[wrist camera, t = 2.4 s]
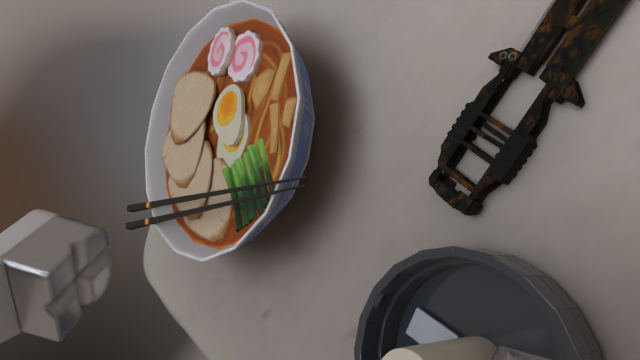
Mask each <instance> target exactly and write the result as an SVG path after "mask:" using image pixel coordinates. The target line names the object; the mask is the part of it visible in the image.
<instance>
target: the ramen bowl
mask: <svg viewBox="0 0 640 360" xmlns="http://www.w3.org/2000/svg"><path fill="white" fill-rule="evenodd" d="M314 123H315V115H314V108H313V102H312V95H311V88H310V82H309V77H308V73H307V69H306V67H305V64H304V62H303V60H302V57H301V56H300V54H299V52H298V51H297V49H296V47H295V45H294V44H293V42H292V40H291V39H290V37H289V35H288V34H287V32H286V30H285V29H284V27H283V25H282V24H281V22H280V21H279V19H278V18H277V16H276V15H275V14H274V12H273V11H272V10H271V9H269V8H266V7H264V6H261V5H259V4H256V3H253V2H251V1H248V0H238V1H234V2H231V3H228V4H224V5H221V6H218V7H215V8H214V9H212V10H211V11H210V12H209V13H208V14H207V15H206V16H205V17H204V18H203V19H202V20H201V21H199V23H197V24H196V25H195V26H194V27H193V28H192V29H191V30H190V31H189V32H188V33H187V35H186V36H185V38H184V39H183V41H182V43H181V44H180V46H179V48H178V49H177V51H176V52H175V54H174V56H173V57H172V59H171V60H170V62H169V64H168V65H167V67H166V70H165V73H164V76H163V79H162V81H161V84H160V87H159V90H158V92H157V95H156V98H155V101H154V104H153V107H152V111H151V117H150V123H149V129H148V135H147V141H146V146H145V170H146V171H145V172H146V193H147V197H148V200H149V202H145V203H139V204H133V205H128V206H127V211H129V212H135V211H140V210H146V209H151V211H152V215H153V217H152V218H148V219H143V220H138V221H134V222H129V223H126V229H130V230H132V229H136V228H140V227H144V226H148V225H151V224H155V226H156V228H157V230H158V231H159V232H160V234H161V235H162V236H163V238H164V239H165V240H166V242H167V243H168V244H169V245H170V247H171V248H172V249H173V251H174V252H175V253H177V254H180V255H183V256H186V257H189V258H191V259H194V260H197V261H200V262H204V261H207V260H209V259H212V258H214V257H217V256H219V255H222V254H224V253H227V252H230V251H232V250H235V249H236V248H238V247H240V246H242V245H244V244H246V243H248V242H249V241H251V240H252V239H253V238H254V237H255V236H257V235H258V234H259V233H260V232H261V231H262V230H263V229H264V228H265V227H266V226H267V225H268V224H269V223H270V222H271V221H272V220H273V218H274V217H275V216H276V215H277V214H278V213H279V212H280V211H281V210H282V209H283V208H284V207H285V205H286V204H287V203H288V202H289V201H290V200H291V198H292V197H293V195H294V193H295V190H296V189H297V188H301V187H305V186H307V184H303V185H299V186H298V183H299V181H300V179H305V178H307V176H302V174H303V172H304V170H305V168H306V165H307V163H308V161H309V155H310V149H311V142H312V136H313V130H314Z"/></svg>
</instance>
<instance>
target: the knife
mask: <svg viewBox="0 0 640 360" xmlns="http://www.w3.org/2000/svg"><path fill="white" fill-rule="evenodd" d="M583 1H584V0H553V1H552V3H551V4H550V6H549V7H548V9H547V10H546V12H545V13H544V15H543V16H542V18H541V19H540V21H539V22H538V24H537V25H536V27H535V28H534V30H533V31H532V33H531V34H530V36H529V38H528V39H527V41H526V42H525V44H524V45H523V47H522V48H521V50H520V51H517V50H515V49H513V48H508V49H505V50H501V51H497V52H494V53H491V54H490V56H489V57H488V58H489V59H490V60H492V61H494V62H495V63H496V64H498V65H500V66H501V68H500V69H499V71H500V72H499V74H498V75H497V76H496V77H495V78H493V79H492V80H491V81H490V82H489V83H487V84H486V85H485V86H484V87H483V88H482V89H481V91H480V92H479V94H478V96H477V97H476V99H475V100H474V101H473V102H471V103H467V104H466V105H465V107H466V108H465V109H464V110H462V112H461V116H460V117H458V118H457V119H456V121H457V122H456V123H455V124H453V126H452V130H451V131H449V132H448V133H447V134H448V136H447V137H446V139H445V140H444V142H443V144H442V145H441V153H440V156H439V159H438V167H437V169H436V170H434V171H433V172H432V174H431V175H430V177H429V185H430V186H431V187H433V188H434V190H435V191H436V193H437V194H438V195H439V196H440V197H441V198H442V199H443V200H445V201H446V202H447V203H448V204H449V205H450V206H452V207H453V208H455V209H457V210H459V211H461V212H462V213H463V214H465V215H475V214H477V213H478V211H479V210H480V209H481V207H482V206H483V205H482V204H481V203H482V202H483V200H484V199H485V197H486V196H487V195H488V193H490V192H491V191H493V190H494V189H496V188H497V187H499V186H500V185H502V184H507V185H508V184H509V183H510V181H511V180H512V179H513V177H514V178H515V177H516V175H517V174H516V173H517V172H518V170H519V171H520V170H521V168H522V167H521V166H522V164H523V163H524V164H525V163H526V161H527V160H526V159H527V157H528V156H531V154H532V150H533V149H536V147H537V146H538V145H536V138H537V136H538V135H539V133H540V132H541V131H542V129H543V128H544V126H545V125H546V123H547V119H548V114H549V110H550V105H551V104H552V102H553V101H555V102H557V103H559V104H562V102H563V101H564V99H565V100H567V101H569V102H571V103H573V104H575V105H577V106H579V107H580V108H582V107H583V105H584V104H585V102H584V98H583V95H582V92H581V89H580V86H579V83H578V82H577V81H576V80H575V79H573V78H572V76H573V74H574V73H575V71H576V70H577V69H578V67H579V66H580V64H581V63H582V62H583V60H584V59H585V57H586V56H587V54H588V53H589V52H590V50H591V49H592V47H593V46H594V44H595V43H596V42H597V40H598V39H599V37H600V36H601V35H602V33H603V32H604V30H605V29H606V27H607V26H608V25H609V23H610V22H611V20H612V19H613V17H614V16H615V15H616V13H617V12H618V10H619V9H620V8H621V6H622V5H623V3H624V2H625V0H591V1H590V2H589V3H588V5H587V6H586V8H585V9H584V11H583V12H582V14H581V15H580V17H577V16H575V15H574V14H575V13H576V11H577V10H578V9H579V7H580V6H581V4H582V3H583ZM565 28H567V29H569V30H570V31H569V33H568V34H567V36H566V37H565V39H564V40H563V42H562V43H561V45H560V46H559V47H558V49H557V50H556V52H555V53H554V55H553V56H552V58H551V59H550V61H549V62H548V64H547V65H546V68H545V69H544V71H543V72H542V74H541V75H540V76H539V79H541V80H542V81H544V82H545V83H547V84H546V85H545V87H544V88H543V89H542V91H541V92H540V94H539V95H538V97H537V98H536V100H535V101H534V102H533V104H532V105H531V107H530V108H529V110H528V111H527V113H526V114H525V116H524V117H523V118H522V120H521V121H520V123H519V124H518V126H517V127H516V129H515V130H514V131H513V130H511V129H510V128H508V127H506V126H505V125H503V124H501V123H500V122H498V121H497V120H495V119H494V118H492V117H491V116H489V115H490V114H491V112H492V111H493V109H494V108H495V106H496V105H497V103H498V102H499V100H500V99H501V97H502V96H503V94H504V93H505V91H506V90H507V88H508V87H509V85H510V84H511V82H512V81H513V79H515V78H516V76H517V75H518V73H519V72H520V70H521V71H524V72H526V73H528V74H530V75H532V76H533V75H534V73H535V72H536V70H537V69H538V67H539V66H540V64H541V63H542V62H543V60H544V59H545V57H546V56H547V54H548V53H549V51H550V50H551V48H552V47H553V45H554V44H555V42H556V41H557V40H558V38H559V37H560V35H561V34H562V32H563V31H564V29H565ZM503 79H504V81H503V82H502V80H503ZM486 120H488V121H489V122H491V123H492V124H494V125H496V126H497V127H499V128H500V129H502V130H503V131H505V132H506V133H508V134H509V135H511V136H510V137H509V139H508V138H507V137H505V136H504V135H502V134H501V133H499V132H498V131H496V130H495V129H494V128H492V127H491V126H489V125H488V124H486V123H485V121H486ZM482 126H483V127H484V128H486V129H487V130H488V131H490V132H491V133H493V134H494V135H495V136H497V137H498V138H500V139H501V140H502V141H504V142H505V144H504V145H503V144H501V143H500V142H498V141H496V140H495V139H493V138H492V137H490V136H488V135H487V134H485V133H483V132H482V131H481V127H482ZM477 134H478V135H480V136H481V137H483V138H484V139H486V140H488V141H489V142H491V143H493V144H494V145H496V146H497V147H499V148H500V152H499V153H497V154H496V155H495V157H496V158H495V159H494V158H493V157H491V156H490V155H488V154H487V153H485V152H484V151H483V150H481V149H480V148H478V147H477V146H475V145H474V144H472V143H471V142H472V141H473V140H475V139H476V135H477ZM467 148H468V149H469V150H471V151H472V152H474V153H475V154H476V155H478V156H479V157H481V158H482V159H484V160H485V161H487V162H488V163H489V164H491V165H490V166H489V168H488V169H487V171H486V172H485V173H484V175H483V176H482V178H481V179H480V181H479V182H478V184H477V185H476V184H475V183H473V182H472V181H471V180H469V179H468V178H467V177H465V176H464V175H463V174H461V173H460V172H459V171H457V170H456V169H455V166H456V165H457V163H458V162H459V160H460V159H461V157H462V156H463V154H464V153H465V151H466V150H467ZM443 171H444V173H442V172H443ZM449 175H450V176H451V177H452V178H454V179H455V180H456V181H458V182H459V183H460V184H462V185H463V186H464V187H465V188H467V189H468V190H469V191H471V194H470V195H469V197H468V196H467V195H465V194H464V193H463V192H461V191H459V192H458V191H456V190H455V189H454V188H453V187H454V186H455V185H456V183H455V182H454V181H453V180H451V179H450V178H449ZM477 196H478V197H477ZM476 197H477V198H476ZM475 199H476V200H475Z"/></svg>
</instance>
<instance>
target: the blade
mask: <svg viewBox="0 0 640 360" xmlns="http://www.w3.org/2000/svg"><path fill="white" fill-rule="evenodd" d="M406 333H407V334H408V335H409V336H410V337H412V338H413V339H414V340H415V341H417V342H418V343H419V344H420V345H414V346H408V347H402V348H396V349H393V350H391V351H389V352H388V353H387V354H386V355H385V356H384V357H383V358H382V360H492V356H493V355H494V353H495V351H496V349H497V347H496V346H495V345H494V344H493V343H492V342H491V341H489V340H488V339H486V338H483V337H480V336H468V337H462V338H459V337H460V336H459V335H457V334H456V333H455V332H453V331H452V330H450V329H449V328H448V327H446V326H445V325H443V324H442V323H441V322H439V321H438V320H436V319H435V318H434V317H432V316H431V315H429V314H428V313H427V312H425V311H424V310H423V309H421V308H420V307H417V308H416V311H415V313H414V315H413V317H412V320H411V322H410V324H409V326H408V328H407V331H406Z"/></svg>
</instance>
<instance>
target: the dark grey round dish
mask: <svg viewBox="0 0 640 360" xmlns="http://www.w3.org/2000/svg"><path fill="white" fill-rule="evenodd" d="M417 307H420V308H421V309H423V310H424V311H425V312H427V313H428V314H429V315H431V316H432V317H434V318H435V319H436V320H438V321H439V322H441V323H442V324H443V325H445V326H446V327H448V328H449V329H450V330H452V331H453V332H455V333H456V334H457V335H459V336H460V337H459V338H462V337H468V336H480V337H483V338H486V339H488V340H489V341H491V342H492V343H493V344H494V345H495V346H496V347H497V348H498V347H499V346H500V345H502V346H506V347H510V348H513V349H517V350H520V351H524V352H527V353H531V354H534V355H538V356H541V357H545V358H548V359H552V360H602V356H601V351H600V350H599V349H600V347H599V345H598V343H597V341H596V339H595V338H594V336H593V334H592V332H591V330H590V328H589V326H588V324H587V322H586V320H585V318H584V316H583V314H582V312H581V310H580V309H579V308H578V306H577V305H576V304H575V303H574V302H573V301H572V300H571V299H570V298H569V297H568V296H567V294H566V293H565V292H564V291H563V290H562V289H561V288H560V287H559V286H558V285H557V284H556V283H555V282H554V281H553V280H552V279H551V278H550V277H548V275H547V274H545V273H543V272H541V271H540V270H538V269H536V268H534V267H533V266H531V265H529V264H528V263H526V262H524V261H522V260H521V259H519V258H517V257H515V256H513V255H508V254H503V253H499V252H494V251H490V250H485V249H480V248H468V247H457V246H451V247H444V248H436V249H428V250H422V251H420V252H418V253H416V254H414V255H412V256H410V257H408V258H406V259H405V260H403V261H401V262H399V263H397V264H395V265H394V266H393V267H392V268H391V269H390V270H389V271H388V272H387V273H386V274H385V275H384V277H383V278H382V279H381V280H380V281H379V282H378V283H377V284H376V285H375V286H374V288H373V290H372V292H371V294H370V296H369V298H368V300H367V303H366V305H365V307H364V309H363V311H362V313H361V316H360V319H359V325H358V331H357V336H356V342H355V348H354V356H355V360H382V358H383V357H384V356H385V355H386V354H387V353H388V352H389V351H391V350H393V349H396V348H402V347H408V346H414V345H420V344H419V343H418V342H417V341H415V340H414V339H413V338H412V337H410V336H409V335H408V334H407V333H406V331H407V328H408V326H409V324H410V322H411V320H412V317H413V315H414V313H415V311H416V308H417Z"/></svg>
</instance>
